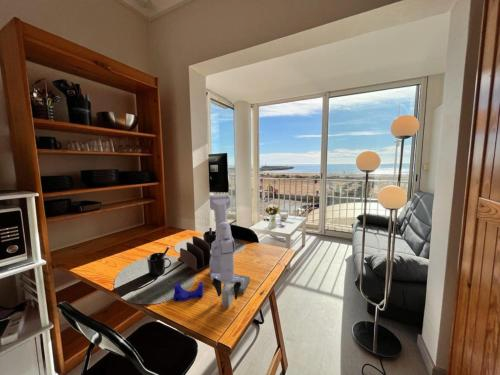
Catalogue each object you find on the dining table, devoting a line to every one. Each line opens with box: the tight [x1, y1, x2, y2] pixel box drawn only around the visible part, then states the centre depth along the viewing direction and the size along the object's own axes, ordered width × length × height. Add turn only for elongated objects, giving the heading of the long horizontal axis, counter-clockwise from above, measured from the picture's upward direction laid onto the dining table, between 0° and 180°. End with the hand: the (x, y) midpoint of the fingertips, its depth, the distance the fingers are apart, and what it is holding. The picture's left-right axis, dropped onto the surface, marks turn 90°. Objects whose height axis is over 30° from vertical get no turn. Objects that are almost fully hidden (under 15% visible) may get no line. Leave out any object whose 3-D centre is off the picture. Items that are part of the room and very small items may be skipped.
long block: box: [221, 283, 235, 309], centre depth 89 cm, size 3×6×7 cm, turn 165°
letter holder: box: [179, 235, 212, 272], centre depth 123 cm, size 10×20×14 cm, turn 44°
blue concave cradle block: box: [173, 281, 204, 302], centre depth 93 cm, size 12×4×6 cm, turn 92°
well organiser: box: [222, 274, 251, 294], centre depth 101 cm, size 10×10×2 cm
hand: (227, 296), depth 89 cm, fingers open, 7 cm apart
